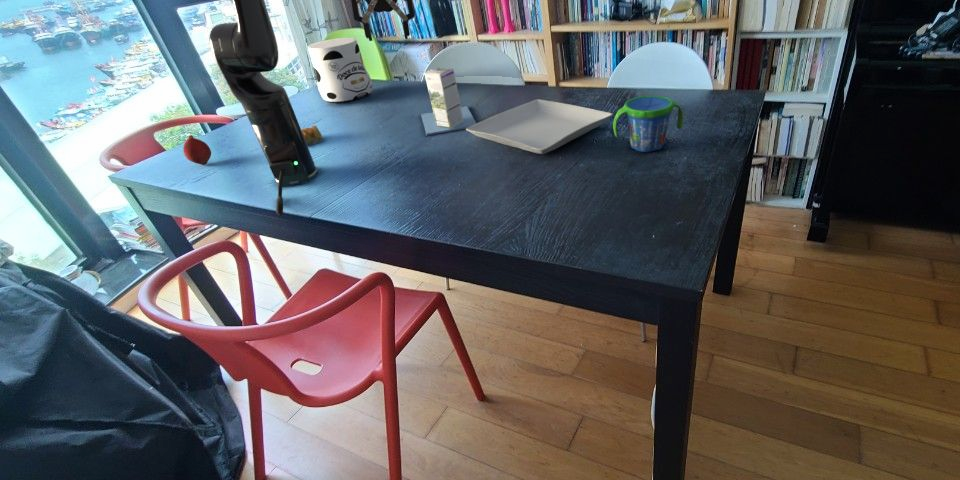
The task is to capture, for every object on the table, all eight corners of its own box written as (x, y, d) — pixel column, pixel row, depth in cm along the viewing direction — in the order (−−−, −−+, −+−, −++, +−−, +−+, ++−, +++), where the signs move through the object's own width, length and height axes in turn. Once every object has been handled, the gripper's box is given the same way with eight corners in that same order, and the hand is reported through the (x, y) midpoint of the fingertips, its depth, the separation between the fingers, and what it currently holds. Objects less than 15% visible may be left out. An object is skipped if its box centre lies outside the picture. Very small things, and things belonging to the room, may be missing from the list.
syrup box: (464, 121, 134) (454, 67, 125) (450, 129, 130) (439, 73, 121) (449, 119, 137) (438, 66, 128) (435, 126, 133) (423, 72, 124)
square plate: (614, 126, 123) (615, 111, 120) (543, 165, 108) (541, 148, 105) (538, 109, 139) (536, 96, 136) (466, 141, 123) (463, 126, 121)
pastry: (291, 151, 129) (285, 137, 126) (284, 145, 133) (279, 132, 131) (325, 140, 133) (321, 127, 131) (318, 135, 137) (313, 122, 135)
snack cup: (615, 158, 107) (616, 113, 101) (610, 140, 116) (610, 98, 109) (686, 153, 106) (691, 107, 100) (675, 135, 115) (679, 92, 109)
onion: (199, 171, 123) (182, 141, 118) (187, 167, 126) (171, 138, 121) (221, 162, 127) (205, 132, 122) (209, 158, 129) (194, 130, 125)
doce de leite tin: (366, 105, 157) (349, 46, 147) (315, 109, 158) (294, 51, 148) (381, 89, 171) (366, 35, 160) (334, 93, 172) (316, 39, 161)
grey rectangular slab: (477, 126, 132) (477, 124, 131) (426, 135, 129) (426, 133, 129) (467, 107, 146) (467, 105, 145) (421, 116, 143) (420, 114, 143)
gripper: (341, -39, 107) (357, 41, 114) (406, -41, 110) (418, 37, 117) (344, -34, 113) (360, 42, 120) (406, -36, 116) (417, 38, 123)
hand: (388, 39), depth 119 cm, fingers open, 8 cm apart
